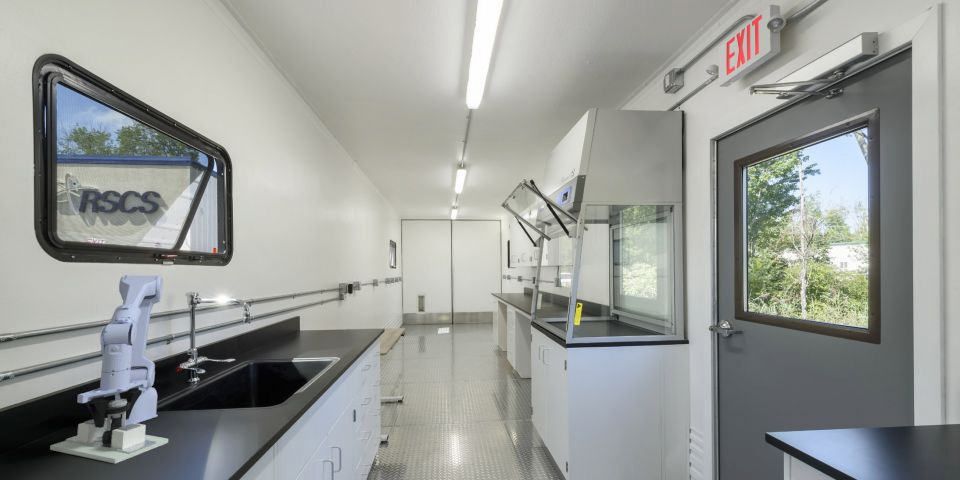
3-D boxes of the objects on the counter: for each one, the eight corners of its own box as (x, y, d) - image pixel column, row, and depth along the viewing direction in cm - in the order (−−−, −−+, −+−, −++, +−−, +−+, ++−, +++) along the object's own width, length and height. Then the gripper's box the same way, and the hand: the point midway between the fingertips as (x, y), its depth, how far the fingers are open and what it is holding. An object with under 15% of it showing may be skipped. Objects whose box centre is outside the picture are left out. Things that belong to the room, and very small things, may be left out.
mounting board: (106, 431, 112) (106, 427, 112) (168, 442, 105) (168, 438, 105) (50, 449, 100) (50, 445, 100) (115, 463, 93) (115, 459, 94)
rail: (93, 431, 109) (93, 430, 109) (156, 443, 102) (156, 441, 102) (65, 440, 103) (65, 439, 103) (129, 453, 96) (130, 451, 96)
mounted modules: (100, 432, 108) (101, 416, 108) (144, 440, 103) (145, 423, 103) (77, 440, 103) (78, 423, 103) (122, 449, 98) (123, 431, 98)
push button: (91, 448, 98) (94, 407, 99) (95, 440, 102) (98, 401, 103) (127, 441, 102) (129, 402, 103) (130, 434, 106) (132, 396, 107)
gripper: (92, 377, 96) (88, 435, 95) (156, 364, 110) (153, 415, 109) (73, 375, 98) (68, 432, 97) (138, 362, 112) (135, 412, 111)
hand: (112, 422), depth 103 cm, fingers closed on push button, 5 cm apart
